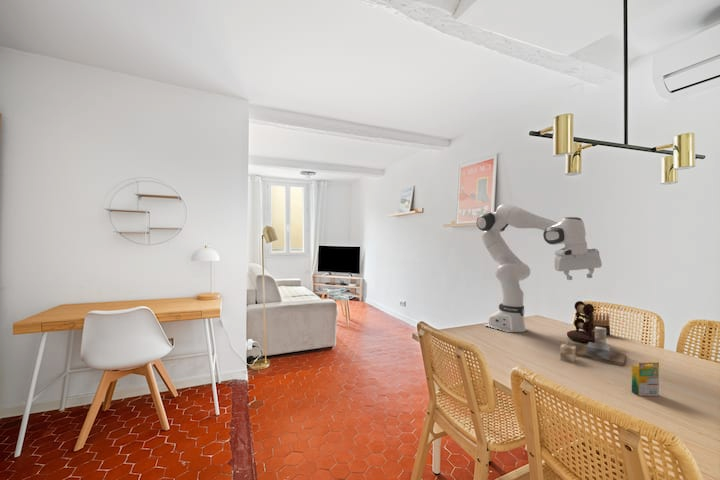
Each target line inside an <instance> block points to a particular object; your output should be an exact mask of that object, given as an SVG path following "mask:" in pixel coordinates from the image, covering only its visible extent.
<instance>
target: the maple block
mask: <svg viewBox="0 0 720 480" xmlns="http://www.w3.org/2000/svg"><path fill="white" fill-rule="evenodd" d="M559 351H560V358H559V360H560V361H564V362H568V363H573V364H574V363H575V361H576V357H577V356H576V346H572V345H567V343H562V344H561V345H560V350H559Z"/></svg>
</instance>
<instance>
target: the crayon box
mask: <svg viewBox="0 0 720 480" xmlns="http://www.w3.org/2000/svg"><path fill="white" fill-rule="evenodd" d="M659 368H660V363H659V362H658V361H657V362H656V361H655V362H638V364H631V393H632V394H634V395H636V396H638V397H649V396H650V397H658V396H660V393H659V392H660V390H659V389H660V388H659V386H660V383H659V381H660V378H659V377H660V376H659V375H660V372H659V371H660V370H659Z"/></svg>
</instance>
